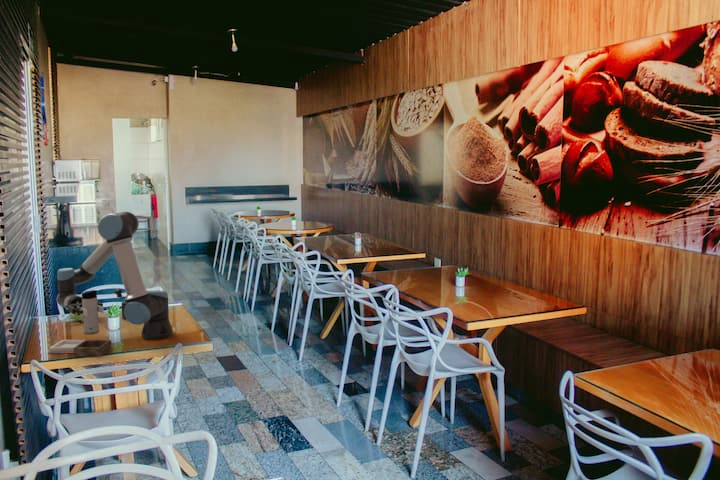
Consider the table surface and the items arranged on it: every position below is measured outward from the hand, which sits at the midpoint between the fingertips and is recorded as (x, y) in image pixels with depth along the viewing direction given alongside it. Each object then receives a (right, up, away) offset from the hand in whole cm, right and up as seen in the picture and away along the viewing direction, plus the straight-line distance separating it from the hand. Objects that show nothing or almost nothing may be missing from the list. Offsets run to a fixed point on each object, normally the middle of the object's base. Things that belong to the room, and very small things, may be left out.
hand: (94, 311), depth 263 cm
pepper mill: (-8, -12, +65) cm, 66 cm away
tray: (-17, -19, +11) cm, 28 cm away
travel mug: (-4, -11, +5) cm, 12 cm away
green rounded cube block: (-33, -12, +61) cm, 71 cm away
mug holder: (-4, -20, +6) cm, 21 cm away
